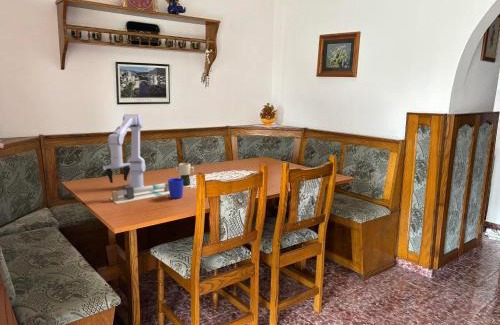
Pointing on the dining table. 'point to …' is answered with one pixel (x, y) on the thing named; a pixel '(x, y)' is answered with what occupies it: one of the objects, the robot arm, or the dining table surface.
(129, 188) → the collar
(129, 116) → the robot arm
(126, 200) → the linear rail slide
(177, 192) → the mug
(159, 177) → the dining table surface
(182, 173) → the character mug
